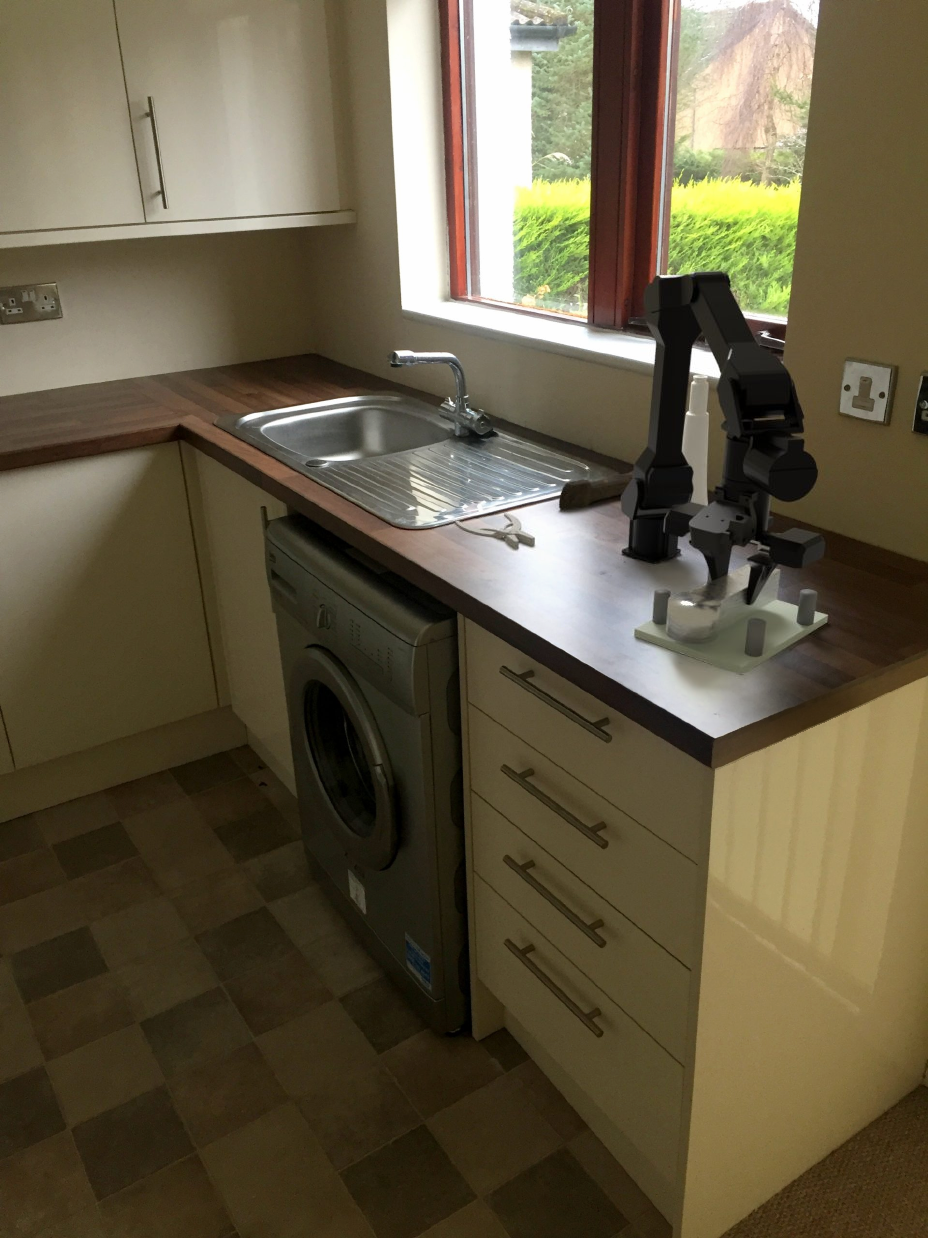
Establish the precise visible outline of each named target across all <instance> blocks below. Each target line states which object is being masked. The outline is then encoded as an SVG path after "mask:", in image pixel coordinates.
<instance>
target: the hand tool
mask: <svg viewBox="0 0 928 1238" xmlns="http://www.w3.org/2000/svg"><path fill="white" fill-rule="evenodd" d="M633 471H634V469H633V470H632V471H630V472H626V473H621V474H615V475H612V476H609V477H607V478H602V479H598V480H597V479H596V480H592V481H589V479H583V478H582V479H578V480H572V481H569V482H567V483H565V484H564V485H563V487H562V490H561V492H560V494H559V502H558V509H560V510H572V509H573V510H574V509H578V508H584V507H585V506H586V507H588V505H590V503H593V502H596V501H600V500H604V499H608V498H612V497H617V496H622V494H623V492H624V491H625V489H626V487H627V486H628V484H629V482H630V481H631V479H632V477H633ZM586 507H585V508H586Z"/></svg>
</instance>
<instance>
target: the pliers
mask: <svg viewBox="0 0 928 1238" xmlns="http://www.w3.org/2000/svg"><path fill="white" fill-rule="evenodd" d="M503 516H504V517H505V518H507V519H508V521H510V522H509V523H506V524H504V526H503V528H502V527H501V528H500V529H497V528H496V529H495V528H491V527H474V526H470V525H467V523H463V522H461V521H459V520H455V525H456V526H458V527H459V528H460V529H461V530H463V531H465V532H468V533H470V534H473V535H474V534H475V535H478V536H483V537H490V538H491V537H492V538H496V539H502V538H503V540H504V542H506V543H507V544H508V545H510V546H511V547H512V548H514V549H516V550H517V549H520V547H519V546H520V545H519V544H520V543H519V542H521V543H524V544H526V545H529V546H531V547H532V546H535V545H536V544H535V543H536V537H535V536H533V535H532V534H530V533H528V532H526V531H524V530H521V529H522V523H521V521H520V520H519V518H517V516H514V515H513V514H511V513H508V512H503ZM509 527H510V528H509Z"/></svg>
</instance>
